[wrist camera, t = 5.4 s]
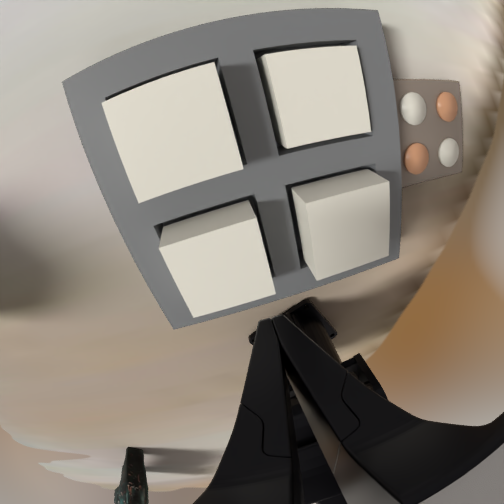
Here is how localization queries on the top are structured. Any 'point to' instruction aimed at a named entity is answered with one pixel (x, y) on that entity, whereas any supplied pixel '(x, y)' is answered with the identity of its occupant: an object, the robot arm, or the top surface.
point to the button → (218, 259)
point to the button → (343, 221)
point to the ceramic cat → (132, 479)
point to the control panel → (243, 141)
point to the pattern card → (429, 128)
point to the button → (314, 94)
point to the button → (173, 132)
